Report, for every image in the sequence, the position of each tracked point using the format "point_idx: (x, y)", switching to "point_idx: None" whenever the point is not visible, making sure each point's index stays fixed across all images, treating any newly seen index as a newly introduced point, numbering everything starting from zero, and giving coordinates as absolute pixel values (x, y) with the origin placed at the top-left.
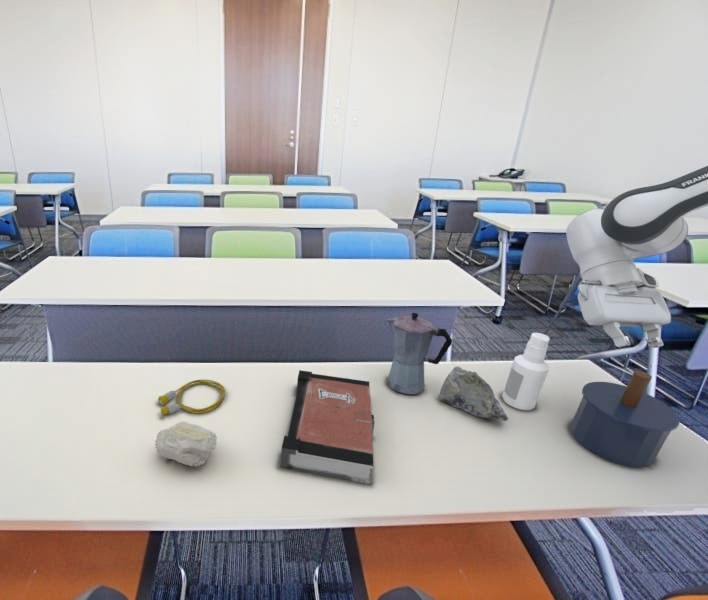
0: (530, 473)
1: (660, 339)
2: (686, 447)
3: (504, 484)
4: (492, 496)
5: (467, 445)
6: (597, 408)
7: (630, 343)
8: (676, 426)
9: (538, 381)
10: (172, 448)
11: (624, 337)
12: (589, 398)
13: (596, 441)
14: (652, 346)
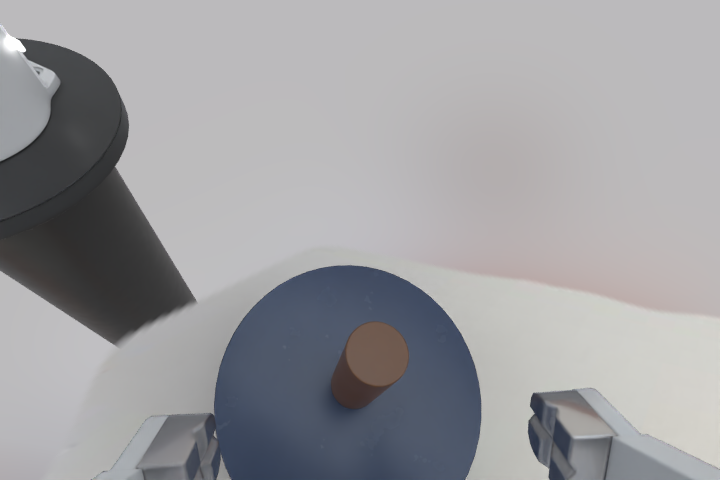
0: (589, 361)
1: (142, 446)
2: (154, 348)
3: (649, 349)
4: (678, 331)
5: None
6: (478, 387)
7: (536, 395)
8: (321, 268)
9: None
10: None
11: (615, 422)
12: (470, 439)
13: None
14: (218, 445)
